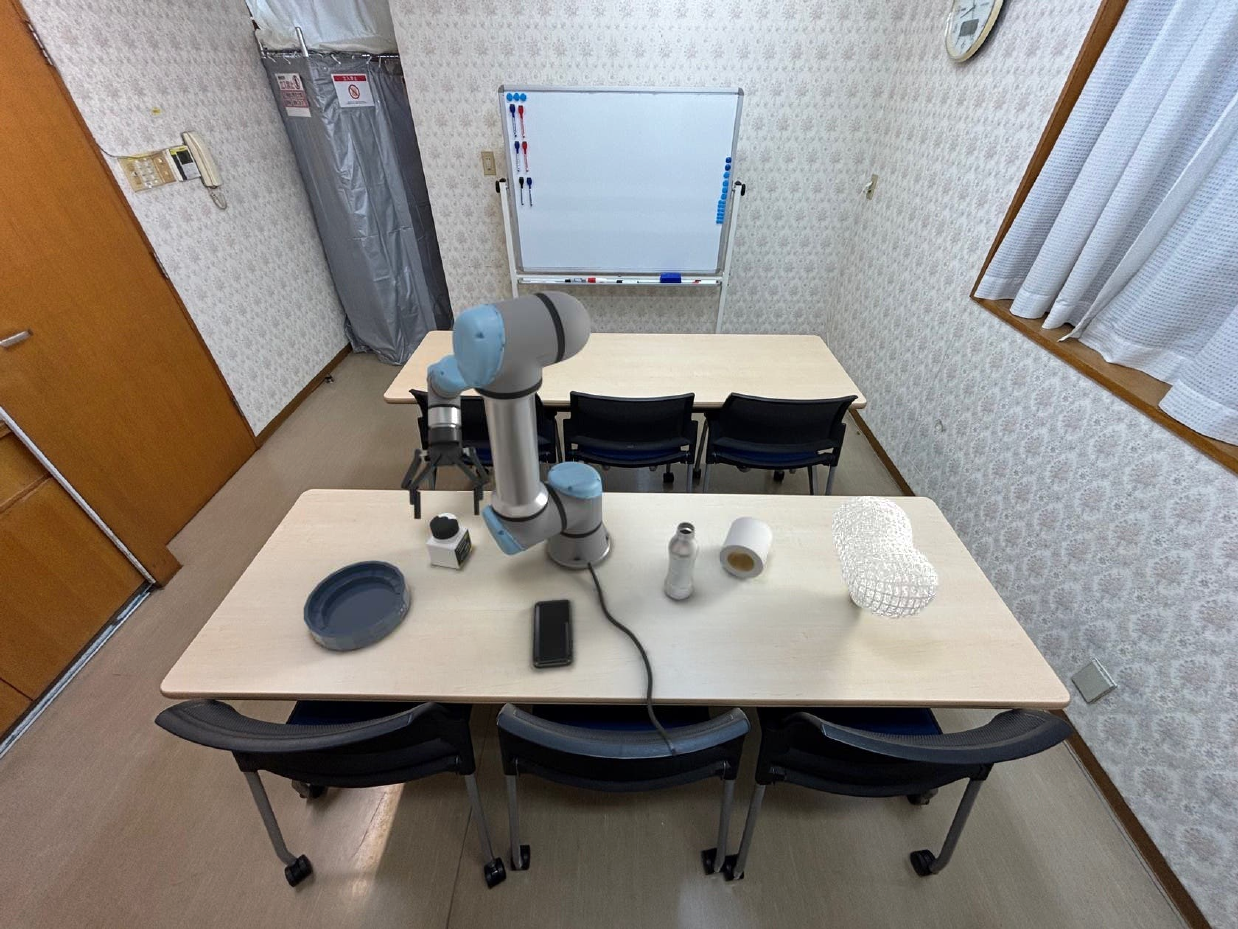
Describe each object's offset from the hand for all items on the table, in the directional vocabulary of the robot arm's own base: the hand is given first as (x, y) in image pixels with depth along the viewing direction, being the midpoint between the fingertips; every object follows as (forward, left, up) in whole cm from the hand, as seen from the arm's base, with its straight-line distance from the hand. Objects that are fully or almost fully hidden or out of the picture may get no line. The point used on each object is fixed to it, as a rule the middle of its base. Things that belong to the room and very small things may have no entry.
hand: (447, 517), depth 119 cm
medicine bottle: (-3, +2, -10) cm, 10 cm away
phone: (-36, -2, -9) cm, 38 cm away
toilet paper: (-52, -47, -10) cm, 71 cm away
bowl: (-3, +24, -9) cm, 26 cm away
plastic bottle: (-47, -29, -10) cm, 56 cm away
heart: (-77, -56, -10) cm, 95 cm away
